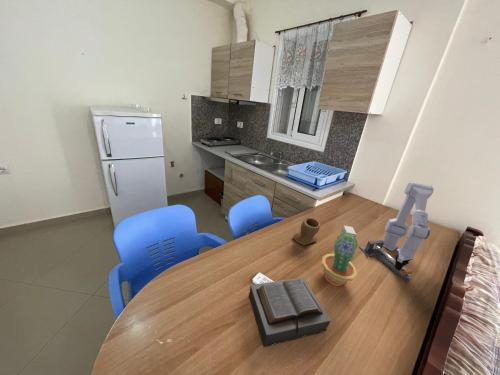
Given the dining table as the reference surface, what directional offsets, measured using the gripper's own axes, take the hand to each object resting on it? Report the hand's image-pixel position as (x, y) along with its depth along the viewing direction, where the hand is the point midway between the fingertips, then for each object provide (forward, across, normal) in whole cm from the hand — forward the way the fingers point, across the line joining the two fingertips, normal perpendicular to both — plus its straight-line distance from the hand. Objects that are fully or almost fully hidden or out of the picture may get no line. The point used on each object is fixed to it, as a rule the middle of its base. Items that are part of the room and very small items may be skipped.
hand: (398, 267), depth 103 cm
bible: (+4, +68, -14) cm, 69 cm away
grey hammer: (+3, -2, -6) cm, 7 cm away
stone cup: (+3, +24, -40) cm, 47 cm away
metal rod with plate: (0, -2, -5) cm, 5 cm away
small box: (+3, +4, -27) cm, 28 cm away
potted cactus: (+3, +34, -15) cm, 37 cm away
